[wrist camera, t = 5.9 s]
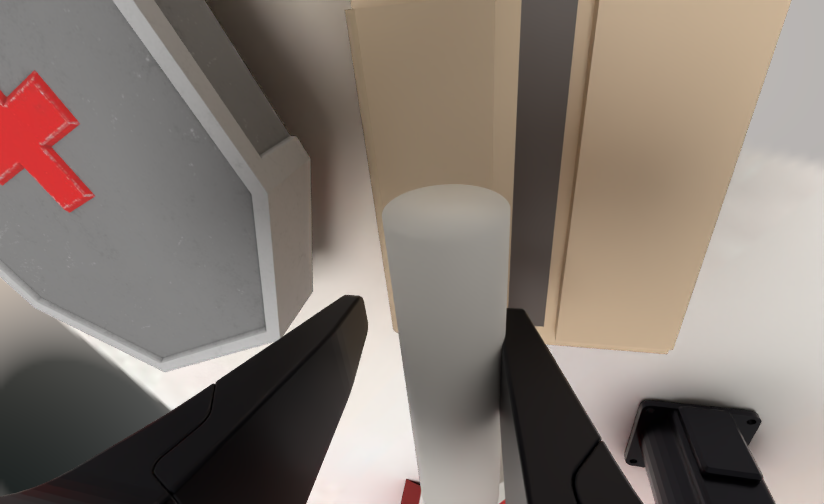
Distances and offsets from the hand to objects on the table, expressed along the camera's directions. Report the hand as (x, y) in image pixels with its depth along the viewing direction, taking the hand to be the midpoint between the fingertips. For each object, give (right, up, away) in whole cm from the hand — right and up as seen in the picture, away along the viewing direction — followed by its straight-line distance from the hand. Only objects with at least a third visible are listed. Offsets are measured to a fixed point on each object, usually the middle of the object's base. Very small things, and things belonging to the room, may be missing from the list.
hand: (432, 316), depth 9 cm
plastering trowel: (+1, +2, +4) cm, 5 cm away
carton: (+5, +6, +10) cm, 13 cm away
